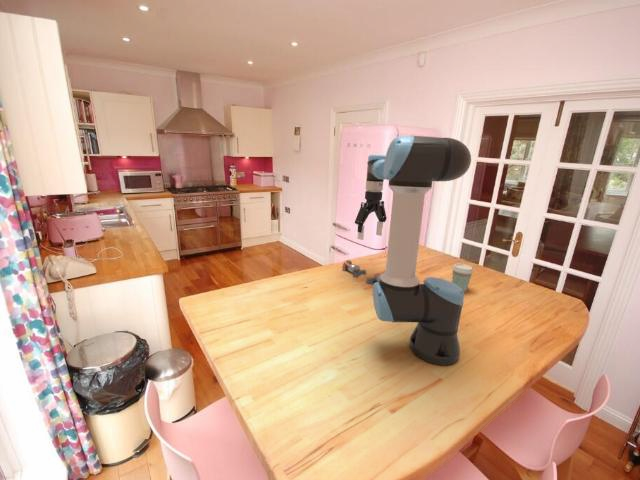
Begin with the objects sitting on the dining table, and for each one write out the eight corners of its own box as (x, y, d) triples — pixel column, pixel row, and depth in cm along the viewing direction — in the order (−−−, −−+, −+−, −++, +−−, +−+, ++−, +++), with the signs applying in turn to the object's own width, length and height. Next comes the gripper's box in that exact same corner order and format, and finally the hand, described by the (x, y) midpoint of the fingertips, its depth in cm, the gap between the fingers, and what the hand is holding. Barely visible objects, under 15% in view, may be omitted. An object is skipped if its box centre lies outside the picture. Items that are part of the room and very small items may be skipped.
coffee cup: (464, 287, 140) (469, 263, 137) (472, 296, 132) (477, 270, 129) (446, 286, 141) (450, 262, 138) (452, 294, 133) (456, 269, 129)
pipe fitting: (382, 291, 132) (383, 278, 130) (340, 273, 150) (341, 261, 149) (393, 286, 138) (395, 274, 136) (351, 270, 156) (352, 258, 154)
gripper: (362, 192, 122) (358, 243, 127) (397, 190, 138) (392, 235, 144) (348, 191, 127) (345, 239, 132) (383, 189, 143) (379, 232, 149)
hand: (369, 237), depth 138 cm, fingers open, 13 cm apart
